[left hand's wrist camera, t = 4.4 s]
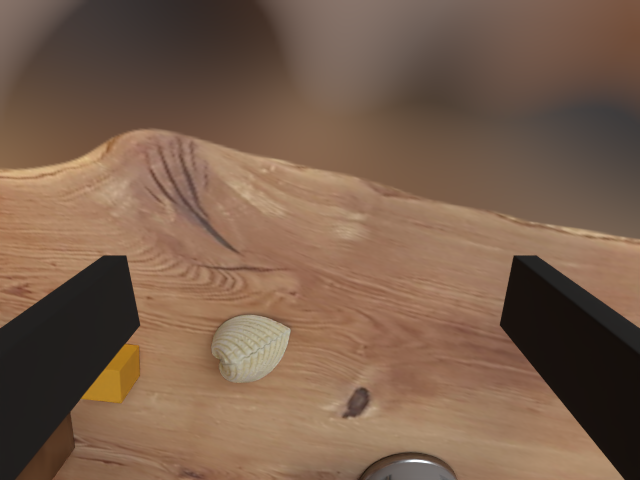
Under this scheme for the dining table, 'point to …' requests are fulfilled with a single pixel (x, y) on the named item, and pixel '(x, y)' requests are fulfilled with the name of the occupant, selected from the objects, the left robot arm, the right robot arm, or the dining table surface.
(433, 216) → the dining table surface
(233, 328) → the seashell
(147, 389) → the dining table surface
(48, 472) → the chest
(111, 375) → the block
